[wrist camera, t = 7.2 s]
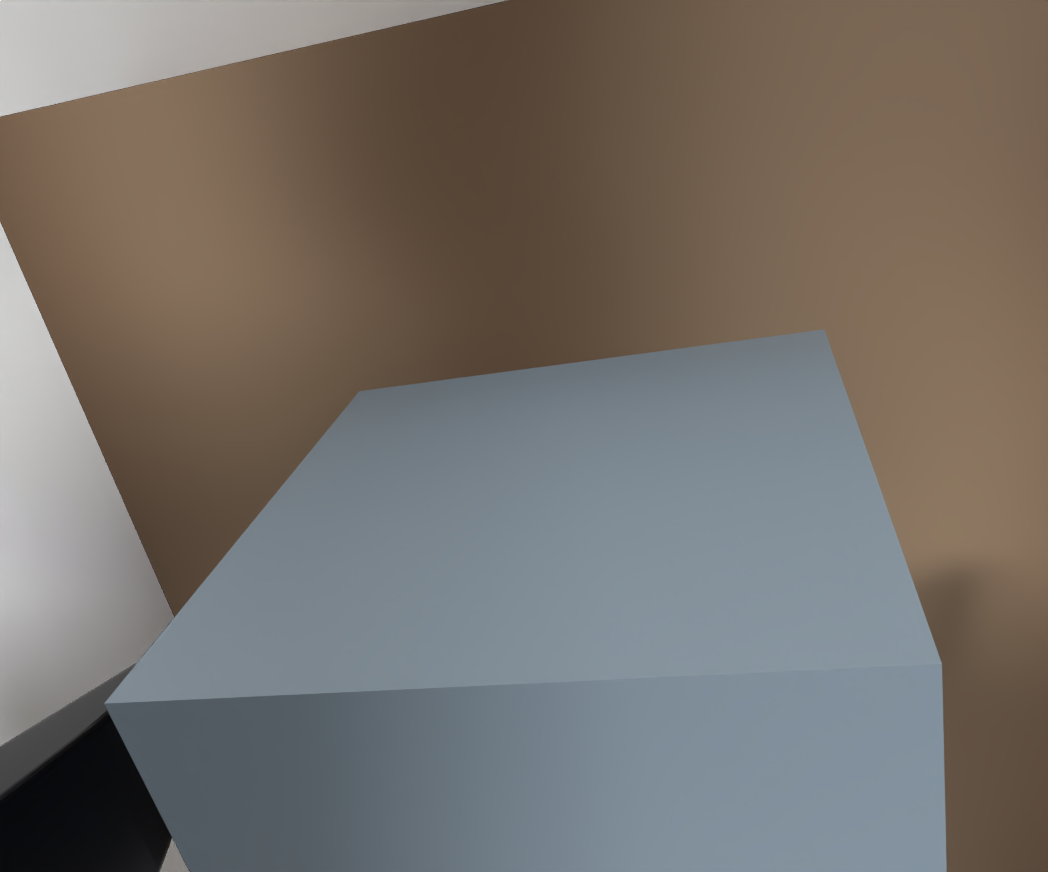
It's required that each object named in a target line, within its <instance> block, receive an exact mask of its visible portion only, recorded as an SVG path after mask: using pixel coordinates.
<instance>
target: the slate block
mask: <svg viewBox="0 0 1048 872" xmlns="http://www.w3.org/2000/svg"><path fill="white" fill-rule="evenodd" d="M104 704H105V706H106V708H107V710H108V712H109V714H110V716H111V718H112V720H113V722H114V724H115V726H116V728H117V730H118V732H119V734H120V736H121V738H122V740H123V742H124V744H125V746H126V748H127V750H128V752H129V754H130V756H131V757H132V759H133V761H134V763H135V765H136V767H137V769H138V771H139V773H140V775H141V777H142V779H143V781H144V783H145V785H146V787H147V789H148V791H149V793H150V795H151V797H152V799H153V801H154V803H155V805H156V807H157V809H158V811H159V813H160V814H161V816H162V818H163V820H164V822H165V824H166V826H167V828H168V830H169V832H170V834H171V836H172V838H173V840H174V842H175V844H176V846H177V848H178V850H179V852H180V854H181V856H182V858H183V860H184V862H185V864H186V866H187V868H188V870H189V871H190V872H947V866H946V821H945V777H944V732H943V687H942V663H941V660H940V657H939V654H938V651H937V648H936V646H935V643H934V640H933V637H932V634H931V631H930V628H929V626H928V623H927V620H926V617H925V614H924V611H923V609H922V606H921V603H920V600H919V597H918V594H917V591H916V589H915V586H914V583H913V580H912V577H911V574H910V572H909V569H908V566H907V563H906V560H905V557H904V554H903V552H902V549H901V546H900V543H899V540H898V537H897V535H896V532H895V529H894V526H893V523H892V520H891V518H890V515H889V512H888V509H887V506H886V503H885V500H884V498H883V495H882V492H881V489H880V486H879V483H878V481H877V478H876V475H875V472H874V469H873V466H872V463H871V461H870V458H869V455H868V452H867V449H866V446H865V444H864V441H863V438H862V435H861V432H860V429H859V426H858V424H857V421H856V418H855V415H854V412H853V409H852V407H851V404H850V401H849V398H848V395H847V392H846V389H845V387H844V384H843V381H842V378H841V375H840V372H839V370H838V367H837V364H836V361H835V358H834V355H833V353H832V350H831V347H830V344H829V341H828V338H827V335H826V333H825V330H824V329H823V330H816V331H808V332H801V333H793V334H786V335H778V336H771V337H763V338H756V339H748V340H741V341H733V342H726V343H718V344H711V345H703V346H696V347H688V348H680V349H673V350H665V351H658V352H650V353H643V354H635V355H628V356H620V357H613V358H605V359H598V360H590V361H583V362H575V363H568V364H560V365H553V366H545V367H538V368H530V369H523V370H515V371H508V372H500V373H493V374H485V375H478V376H470V377H463V378H455V379H447V380H440V381H432V382H425V383H417V384H410V385H402V386H395V387H387V388H380V389H372V390H365V391H359V392H358V393H357V395H356V396H355V397H354V398H353V400H352V401H351V402H350V403H349V404H348V406H347V407H346V408H345V409H344V411H343V412H342V413H341V414H340V415H339V417H338V418H337V419H336V420H335V422H334V423H333V424H332V425H331V426H330V428H329V429H328V430H327V431H326V433H325V434H324V435H323V436H322V437H321V439H320V440H319V441H318V442H317V444H316V445H315V446H314V447H313V448H312V450H311V451H310V452H309V453H308V455H307V456H306V457H305V458H304V460H303V461H302V462H301V463H300V464H299V466H298V467H297V468H296V469H295V471H294V472H293V473H292V474H291V475H290V477H289V478H288V479H287V480H286V482H285V483H284V484H283V485H282V486H281V488H280V489H279V490H278V491H277V493H276V494H275V495H274V496H273V497H272V499H271V500H270V501H269V502H268V504H267V505H266V506H265V507H264V508H263V510H262V511H261V512H260V513H259V515H258V516H257V517H256V518H255V519H254V521H253V522H252V523H251V524H250V526H249V527H248V528H247V529H246V531H245V532H244V533H243V534H242V535H241V537H240V538H239V539H238V540H237V542H236V543H235V544H234V545H233V546H232V548H231V549H230V550H229V551H228V553H227V554H226V555H225V556H224V557H223V559H222V560H221V561H220V562H219V564H218V565H217V566H216V567H215V568H214V570H213V571H212V572H211V573H210V575H209V576H208V577H207V578H206V579H205V581H204V582H203V583H202V584H201V586H200V587H199V588H198V589H197V590H196V592H195V593H194V594H193V595H192V597H191V598H190V599H189V600H188V602H187V603H186V604H185V605H184V606H183V608H182V609H181V610H180V611H179V613H178V614H177V615H176V616H175V617H174V619H173V620H172V621H171V622H170V624H169V625H168V626H167V627H166V628H165V630H164V631H163V632H162V633H161V635H160V636H159V637H158V638H157V639H156V641H155V642H154V643H153V644H152V646H151V647H150V648H149V649H148V650H147V652H146V653H145V654H144V655H143V657H142V658H141V659H140V660H139V662H138V663H137V664H136V665H135V666H134V668H133V669H132V670H131V671H130V673H129V674H128V675H127V676H126V677H125V679H124V680H123V681H122V682H121V684H120V685H119V686H118V687H117V688H116V690H115V691H114V692H113V693H112V695H111V696H110V697H109V698H108V699H107V701H106V702H105V703H104Z"/></svg>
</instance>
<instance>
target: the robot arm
mask: <svg viewBox="0 0 1048 872" xmlns="http://www.w3.org/2000/svg"><path fill="white" fill-rule="evenodd" d="M136 664H137V663H136ZM136 664H134V665H132V666H131V667H129V668H127V669H126V670H124V671H122V672H121V673H119V674H118V675H116V676H114V677H113V678H111V679H109V680H108V681H106V682H105V683H103V684H101V685H100V686H98V687H96V688H95V689H93V690H91V691H90V692H88V693H87V694H85V695H83V696H82V697H80V698H78V699H77V700H75V701H73V702H72V703H70V704H69V705H67V706H65V707H64V708H62V709H60V710H59V711H57V712H56V713H54V714H52V715H51V716H49V717H47V718H46V719H44V720H42V721H41V722H39V723H38V724H36V725H34V726H33V727H31V728H29V729H28V730H26V731H24V732H23V733H21V734H20V735H18V736H16V737H15V738H13V739H11V740H10V741H8V742H7V743H5V744H3V745H2V746H0V872H160V869H161V867H162V864H163V861H164V859H165V856H166V853H167V851H168V848H169V845H170V842H171V839H172V836H171V834H170V832H169V830H168V828H167V826H166V824H165V822H164V820H163V818H162V816H161V814H160V813H159V811H158V809H157V807H156V805H155V803H154V801H153V799H152V797H151V795H150V793H149V791H148V789H147V787H146V785H145V783H144V781H143V779H142V777H141V775H140V773H139V771H138V769H137V767H136V765H135V763H134V761H133V759H132V757H131V756H130V754H129V752H128V750H127V748H126V746H125V744H124V742H123V740H122V738H121V736H120V734H119V732H118V730H117V728H116V726H115V724H114V722H113V720H112V718H111V716H110V714H109V712H108V710H107V708H106V706H105V704H104V703H105V702H106V701H107V699H108V698H109V697H110V696H111V695H112V693H113V692H114V691H115V690H116V688H117V687H118V686H119V685H120V684H121V682H122V681H123V680H124V679H125V677H126V676H127V675H128V674H129V673H130V671H131V670H132V669H133V668H134V666H135V665H136Z"/></svg>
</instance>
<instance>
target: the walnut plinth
mask: <svg viewBox="0 0 1048 872" xmlns="http://www.w3.org/2000/svg"><path fill="white" fill-rule="evenodd" d="M0 222H1V224H2V227H3V229H4V231H5V234H6V236H7V238H8V240H9V243H10V245H11V247H12V249H13V252H14V254H15V256H16V259H17V261H18V263H19V265H20V268H21V270H22V272H23V274H24V277H25V279H26V281H27V283H28V286H29V288H30V290H31V293H32V295H33V297H34V299H35V302H36V304H37V306H38V308H39V311H40V313H41V315H42V318H43V320H44V322H45V324H46V327H47V329H48V331H49V333H50V336H51V338H52V340H53V343H54V345H55V347H56V349H57V352H58V354H59V356H60V358H61V361H62V363H63V365H64V367H65V370H66V372H67V374H68V377H69V379H70V381H71V383H72V386H73V388H74V390H75V392H76V395H77V397H78V399H79V402H80V404H81V406H82V408H83V411H84V413H85V415H86V417H87V420H88V422H89V424H90V427H91V429H92V431H93V433H94V436H95V438H96V440H97V442H98V445H99V447H100V449H101V451H102V454H103V456H104V458H105V461H106V463H107V465H108V467H109V470H110V472H111V474H112V476H113V479H114V481H115V483H116V486H117V488H118V490H119V492H120V495H121V497H122V499H123V501H124V504H125V506H126V508H127V511H128V513H129V515H130V517H131V520H132V522H133V524H134V526H135V529H136V531H137V533H138V535H139V538H140V540H141V542H142V545H143V547H144V549H145V551H146V554H147V556H148V558H149V560H150V563H151V565H152V567H153V570H154V572H155V574H156V576H157V579H158V581H159V583H160V585H161V588H162V590H163V592H164V594H165V597H166V599H167V601H168V604H169V606H170V608H171V610H172V613H173V615H174V617H175V616H176V615H177V614H178V613H179V611H180V610H181V609H182V608H183V606H184V605H185V604H186V603H187V602H188V600H189V599H190V598H191V597H192V595H193V594H194V593H195V592H196V590H197V589H198V588H199V587H200V586H201V584H202V583H203V582H204V581H205V579H206V578H207V577H208V576H209V575H210V573H211V572H212V571H213V570H214V568H215V567H216V566H217V565H218V564H219V562H220V561H221V560H222V559H223V557H224V556H225V555H226V554H227V553H228V551H229V550H230V549H231V548H232V546H233V545H234V544H235V543H236V542H237V540H238V539H239V538H240V537H241V535H242V534H243V533H244V532H245V531H246V529H247V528H248V527H249V526H250V524H251V523H252V522H253V521H254V519H255V518H256V517H257V516H258V515H259V513H260V512H261V511H262V510H263V508H264V507H265V506H266V505H267V504H268V502H269V501H270V500H271V499H272V497H273V496H274V495H275V494H276V493H277V491H278V490H279V489H280V488H281V486H282V485H283V484H284V483H285V482H286V480H287V479H288V478H289V477H290V475H291V474H292V473H293V472H294V471H295V469H296V468H297V467H298V466H299V464H300V463H301V462H302V461H303V460H304V458H305V457H306V456H307V455H308V453H309V452H310V451H311V450H312V448H313V447H314V446H315V445H316V444H317V442H318V441H319V440H320V439H321V437H322V436H323V435H324V434H325V433H326V431H327V430H328V429H329V428H330V426H331V425H332V424H333V423H334V422H335V420H336V419H337V418H338V417H339V415H340V414H341V413H342V412H343V411H344V409H345V408H346V407H347V406H348V404H349V403H350V402H351V401H352V400H353V398H354V397H355V396H356V395H357V393H358V392H359V391H365V390H372V389H380V388H387V387H395V386H402V385H410V384H417V383H425V382H432V381H440V380H447V379H455V378H463V377H470V376H478V375H485V374H493V373H500V372H508V371H515V370H523V369H530V368H538V367H545V366H553V365H560V364H568V363H575V362H583V361H590V360H598V359H605V358H613V357H620V356H628V355H635V354H643V353H650V352H658V351H665V350H673V349H680V348H688V347H696V346H703V345H711V344H718V343H726V342H733V341H741V340H748V339H756V338H763V337H771V336H778V335H786V334H793V333H801V332H808V331H816V330H823V329H824V330H825V333H826V335H827V338H828V341H829V344H830V347H831V350H832V353H833V355H834V358H835V361H836V364H837V367H838V370H839V372H840V375H841V378H842V381H843V384H844V387H845V389H846V392H847V395H848V398H849V401H850V404H851V407H852V409H853V412H854V415H855V418H856V421H857V424H858V426H859V429H860V432H861V435H862V438H863V441H864V444H865V446H866V449H867V452H868V455H869V458H870V461H871V463H872V466H873V469H874V472H875V475H876V478H877V481H878V483H879V486H880V489H881V492H882V495H883V498H884V500H885V503H886V506H887V509H888V512H889V515H890V518H891V520H892V523H893V526H894V529H895V532H896V535H897V537H898V540H899V543H900V546H901V549H902V552H903V554H904V557H905V560H906V563H907V566H908V569H909V572H910V574H911V577H912V580H913V583H914V586H915V589H916V591H917V594H918V597H919V600H920V603H921V606H922V609H923V611H924V614H925V617H926V620H927V623H928V626H929V628H930V631H931V634H932V637H933V640H934V643H935V646H936V648H937V651H938V654H939V657H940V660H941V663H942V687H943V732H944V777H945V821H946V866H947V872H1048V0H508V1H503V2H499V3H495V4H490V5H486V6H482V7H477V8H473V9H468V10H464V11H460V12H455V13H451V14H447V15H442V16H438V17H434V18H429V19H425V20H420V21H416V22H412V23H407V24H403V25H399V26H394V27H390V28H386V29H381V30H377V31H372V32H368V33H364V34H359V35H355V36H351V37H346V38H342V39H338V40H333V41H329V42H324V43H320V44H316V45H311V46H307V47H303V48H298V49H294V50H290V51H285V52H281V53H276V54H272V55H268V56H263V57H259V58H255V59H250V60H246V61H242V62H237V63H233V64H228V65H224V66H220V67H215V68H211V69H207V70H202V71H198V72H194V73H189V74H185V75H180V76H176V77H172V78H167V79H163V80H159V81H154V82H150V83H146V84H141V85H137V86H132V87H128V88H124V89H119V90H115V91H111V92H106V93H102V94H98V95H93V96H89V97H84V98H80V99H76V100H71V101H67V102H63V103H58V104H54V105H50V106H45V107H41V108H36V109H32V110H28V111H23V112H19V113H15V114H10V115H6V116H2V117H0Z"/></svg>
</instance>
